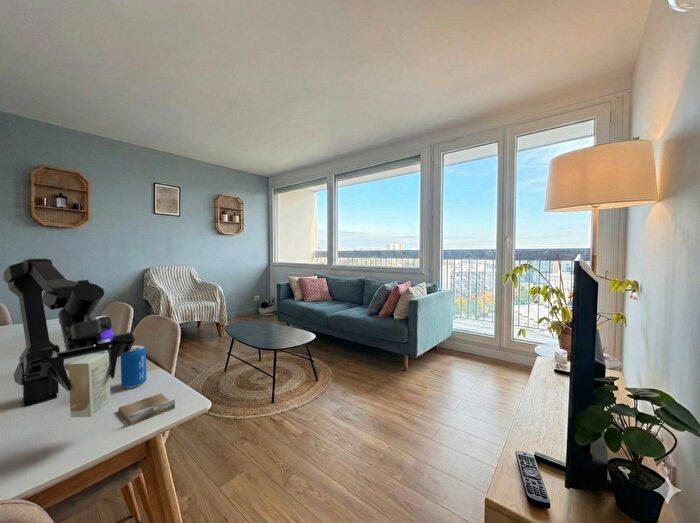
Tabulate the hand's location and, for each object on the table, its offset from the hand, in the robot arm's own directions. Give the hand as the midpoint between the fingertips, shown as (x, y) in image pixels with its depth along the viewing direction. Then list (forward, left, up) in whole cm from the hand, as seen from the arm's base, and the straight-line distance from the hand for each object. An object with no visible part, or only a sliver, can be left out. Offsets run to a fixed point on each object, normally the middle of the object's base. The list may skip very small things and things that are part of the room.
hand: (92, 383), depth 65 cm
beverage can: (+15, +25, -13) cm, 32 cm away
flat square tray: (+12, +5, -13) cm, 19 cm away
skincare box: (0, +1, -7) cm, 7 cm away
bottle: (+14, +58, -13) cm, 61 cm away
